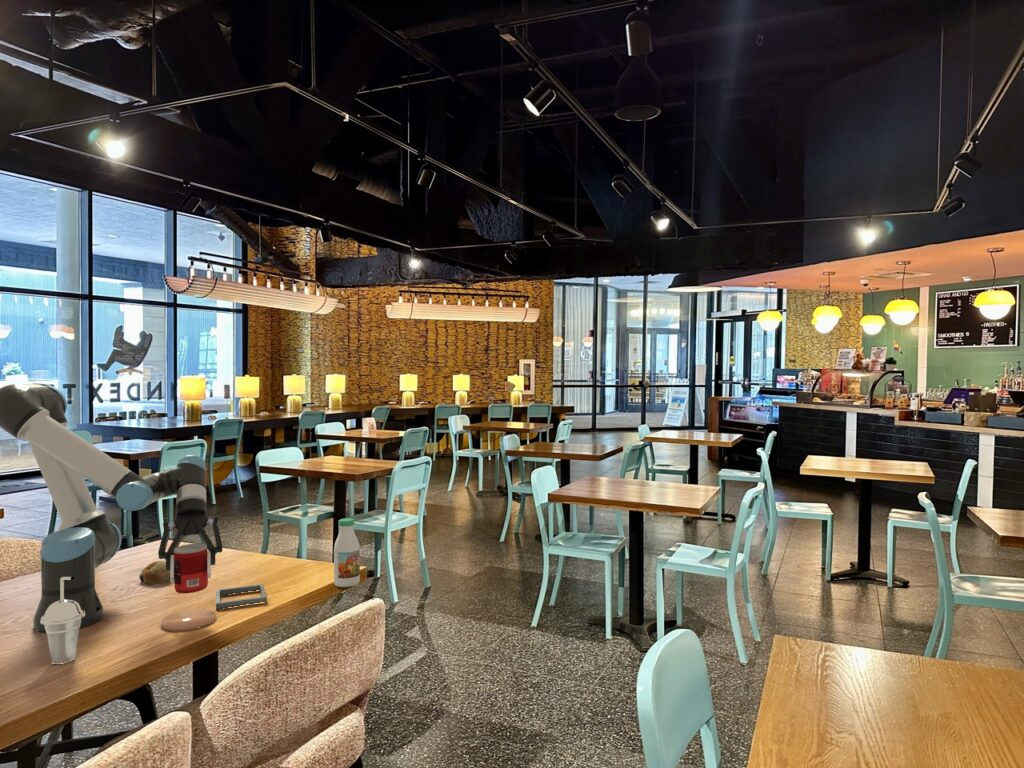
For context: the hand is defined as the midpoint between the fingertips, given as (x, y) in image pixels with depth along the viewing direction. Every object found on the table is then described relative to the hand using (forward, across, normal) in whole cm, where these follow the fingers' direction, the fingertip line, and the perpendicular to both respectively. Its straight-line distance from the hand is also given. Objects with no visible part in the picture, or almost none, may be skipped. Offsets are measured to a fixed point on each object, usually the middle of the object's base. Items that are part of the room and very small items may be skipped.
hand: (190, 577), depth 170 cm
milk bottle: (-3, -43, -22) cm, 48 cm away
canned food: (+1, 0, -5) cm, 5 cm away
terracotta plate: (+6, +1, -11) cm, 13 cm away
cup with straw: (+17, +26, -1) cm, 31 cm away
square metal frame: (-3, -12, -20) cm, 24 cm away
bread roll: (-24, +11, -42) cm, 49 cm away
